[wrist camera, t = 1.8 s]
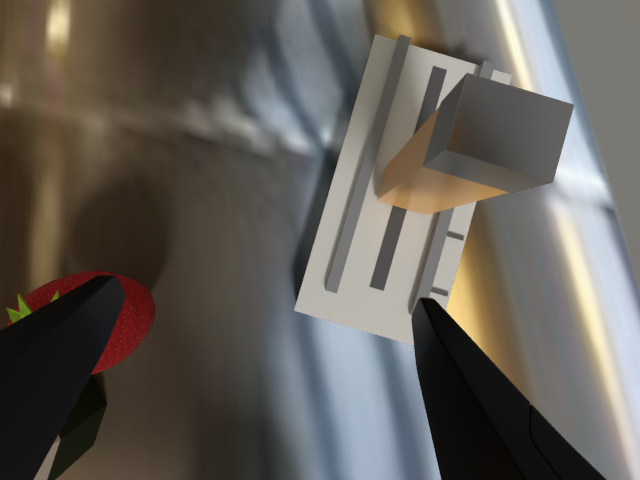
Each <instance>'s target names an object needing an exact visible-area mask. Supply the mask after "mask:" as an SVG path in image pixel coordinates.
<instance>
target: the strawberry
mask: <svg viewBox="0 0 640 480" xmlns="http://www.w3.org/2000/svg"><path fill="white" fill-rule="evenodd" d="M102 274H104V275H114V276H116V277H117V278H118V280H119V282H120V284H121V286H122V288H123V290H124V292H125V302H124V305H123V307H122V309H121V312H120V314H119V317H118V319H117V322H116V324H115V326H114V329H113V331H112V334H111V336H110V338H109V341H108V343H107V345H106V347H105V349H104V351H103V353H102V355H101V357H100V359H99V361H98V363H97V365H96V366H95V368H94V370H93V372H92V374H91V375H93V374H96V373H98V372H101V371H104V370H106V369H108V368H111V367H113V366H114V365H116V364H118V363H119V362H121V361H123V360H124V359H125V358H126V357H127V356H129V355H130V354H131V353H132V352H133V351H134V350H135V348H136V347H137V346H138V345H139V344H140V342H141V341H142V340H143V338H144V337H145V335H146V334H147V333H148V331H149V329H150V327H151V326H152V323H153V320H154V317H155V304H154V300H153V298H152V295H151V293H150V292H149V291H148V289H147V288H146V287H145V286H144V285H142V284H141V283H140V282H138V281H136V280H134V279H132V278H129V277H125V276H121V275H117V274H113V273H110V272H102V271H89V272H81V273H76V274H72V275H69V276H66V277H63V278H60V279H57V280H54V281H52V282H50V283H47V284H45V285H43V286H41V287H39V288H38V289H36V290H34V291H33V292H31V293H30V294H29V295H28V296H27V297H26V298H24V299H23V297H22V296H21V295H20V294H17V295H18V302H19V305H18V306H17V307H16V309H15V310H12V309H9V308H6V309H7V311H8V314H9V316H10V319H9V322H8V326H9V325H11V324H13V323H14V322H16V321H18V320H20V319H21V318H23V317H25V316H27V315H29V314H30V313H32V312H34V311H36V310H37V309H39V308H41V307H43V306H44V305H46V304H48V303H50V302H52V301H53V300H55V299H57V298H59V297H60V296H62V295H64V294H66V293H68V292H69V291H71V290H73V289H75V288H76V287H78V286H80V285H82V284H83V283H85V282H87V281H89V280H91V279H92V278H94V277H96V276H98V275H102Z"/></svg>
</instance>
